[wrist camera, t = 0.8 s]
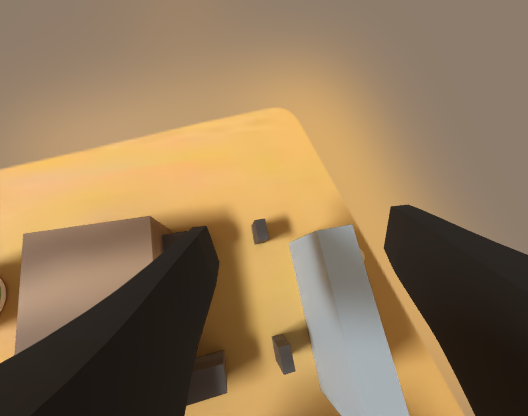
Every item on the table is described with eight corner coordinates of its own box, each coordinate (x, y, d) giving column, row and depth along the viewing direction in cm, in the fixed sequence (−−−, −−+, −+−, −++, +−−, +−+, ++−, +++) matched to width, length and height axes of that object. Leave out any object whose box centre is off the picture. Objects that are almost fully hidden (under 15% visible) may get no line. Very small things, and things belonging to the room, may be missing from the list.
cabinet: (288, 369, 20) (312, 407, 15) (78, 434, 17) (2, 518, 11) (258, 215, 24) (268, 199, 18) (80, 243, 20) (23, 233, 15)
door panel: (359, 376, 21) (432, 434, 14) (320, 389, 21) (375, 460, 13) (323, 236, 25) (365, 221, 17) (288, 243, 24) (316, 230, 16)
